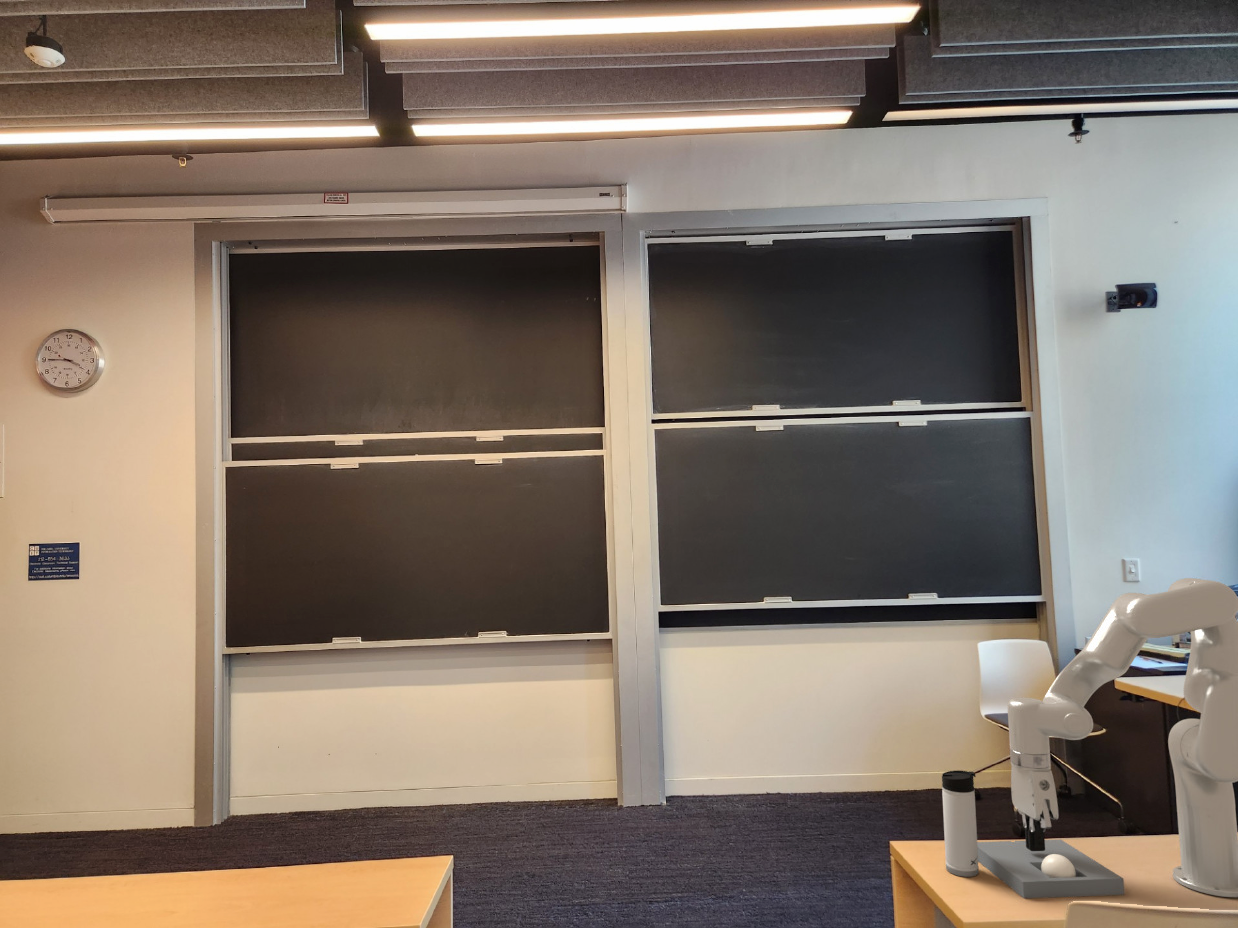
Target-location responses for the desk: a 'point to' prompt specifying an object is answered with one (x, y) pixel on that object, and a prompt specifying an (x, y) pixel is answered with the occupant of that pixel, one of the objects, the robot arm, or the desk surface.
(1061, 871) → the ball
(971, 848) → the travel mug
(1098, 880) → the plate
